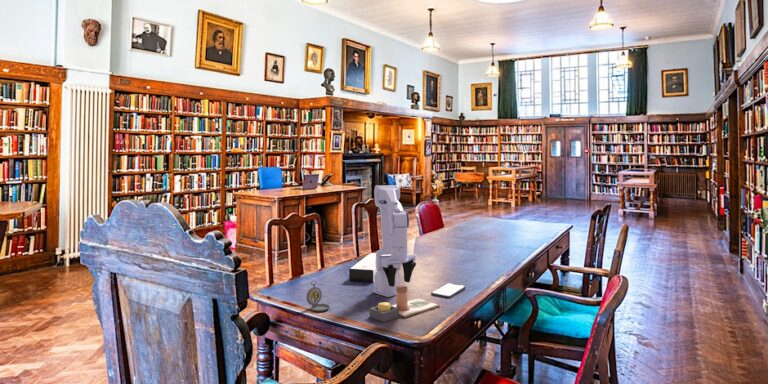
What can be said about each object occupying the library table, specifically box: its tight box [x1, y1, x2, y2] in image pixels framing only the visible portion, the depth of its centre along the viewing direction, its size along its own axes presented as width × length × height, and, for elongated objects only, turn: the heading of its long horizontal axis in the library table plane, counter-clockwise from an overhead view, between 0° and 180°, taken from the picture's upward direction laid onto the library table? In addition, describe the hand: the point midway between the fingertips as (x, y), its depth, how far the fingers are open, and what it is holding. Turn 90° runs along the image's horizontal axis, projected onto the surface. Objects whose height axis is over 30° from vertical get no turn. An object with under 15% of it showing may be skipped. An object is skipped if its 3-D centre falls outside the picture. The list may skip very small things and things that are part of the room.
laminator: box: [348, 252, 391, 284], centre depth 215 cm, size 34×12×6 cm, turn 166°
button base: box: [369, 305, 400, 323], centre depth 155 cm, size 7×7×3 cm
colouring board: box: [391, 297, 440, 319], centre depth 164 cm, size 12×18×1 cm, turn 131°
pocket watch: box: [305, 280, 330, 312], centre depth 164 cm, size 8×8×10 cm
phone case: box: [430, 282, 467, 299], centre depth 184 cm, size 9×2×16 cm
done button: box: [377, 301, 391, 312], centre depth 155 cm, size 4×4×3 cm
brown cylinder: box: [395, 284, 409, 311], centre depth 161 cm, size 4×4×8 cm
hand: (399, 283), depth 159 cm, fingers open, 7 cm apart
